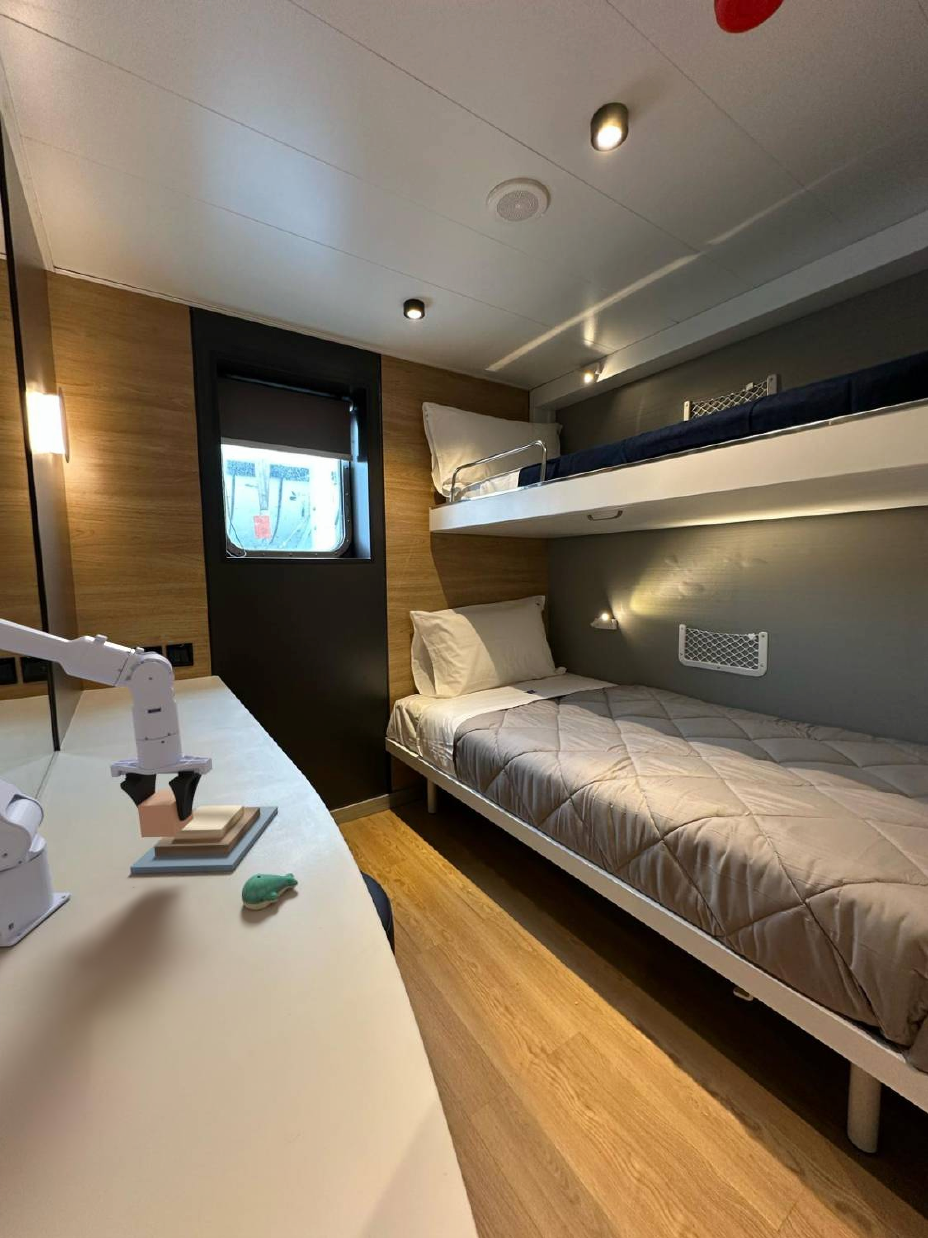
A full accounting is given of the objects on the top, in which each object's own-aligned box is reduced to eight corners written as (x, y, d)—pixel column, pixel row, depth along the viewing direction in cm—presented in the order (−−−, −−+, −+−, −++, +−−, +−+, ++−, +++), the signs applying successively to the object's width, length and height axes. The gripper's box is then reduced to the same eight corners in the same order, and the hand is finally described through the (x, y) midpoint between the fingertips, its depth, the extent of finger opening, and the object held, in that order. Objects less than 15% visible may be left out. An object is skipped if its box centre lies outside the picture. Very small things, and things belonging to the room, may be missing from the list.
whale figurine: (238, 897, 70) (236, 872, 69) (290, 876, 74) (288, 853, 74) (248, 920, 65) (245, 894, 65) (303, 897, 69) (300, 872, 69)
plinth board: (232, 870, 76) (230, 846, 75) (130, 873, 76) (127, 849, 75) (277, 811, 93) (276, 791, 93) (195, 813, 94) (193, 793, 93)
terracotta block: (174, 836, 73) (170, 805, 72) (141, 837, 73) (137, 806, 72) (193, 818, 78) (190, 789, 77) (162, 819, 78) (159, 790, 77)
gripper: (218, 723, 78) (227, 803, 79) (129, 726, 78) (139, 806, 80) (193, 739, 71) (203, 827, 72) (95, 742, 71) (107, 830, 73)
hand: (168, 818), depth 75 cm, fingers closed on terracotta block, 5 cm apart
